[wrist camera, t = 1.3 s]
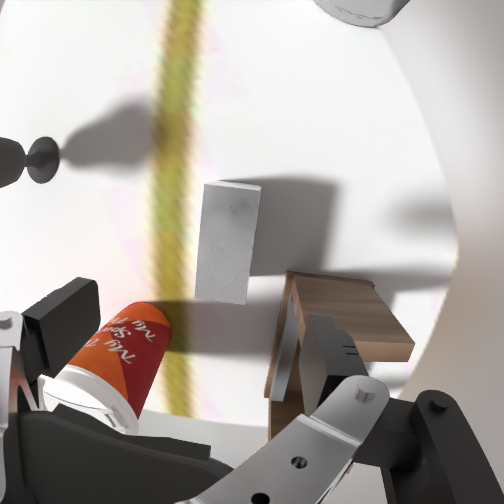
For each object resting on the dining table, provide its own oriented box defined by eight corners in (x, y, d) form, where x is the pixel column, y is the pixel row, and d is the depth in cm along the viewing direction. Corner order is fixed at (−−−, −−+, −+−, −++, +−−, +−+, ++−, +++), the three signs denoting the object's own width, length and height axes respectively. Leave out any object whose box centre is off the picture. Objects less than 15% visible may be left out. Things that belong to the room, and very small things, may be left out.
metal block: (218, 180, 25) (204, 183, 19) (261, 185, 25) (259, 190, 19) (209, 270, 27) (194, 297, 22) (249, 276, 27) (244, 305, 22)
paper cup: (165, 284, 28) (94, 373, 14) (192, 352, 30) (152, 458, 16) (101, 299, 29) (19, 375, 15) (129, 360, 31) (73, 450, 17)
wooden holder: (287, 270, 27) (298, 335, 16) (371, 281, 27) (421, 343, 16) (264, 391, 31) (261, 472, 20) (334, 396, 31) (353, 473, 20)
